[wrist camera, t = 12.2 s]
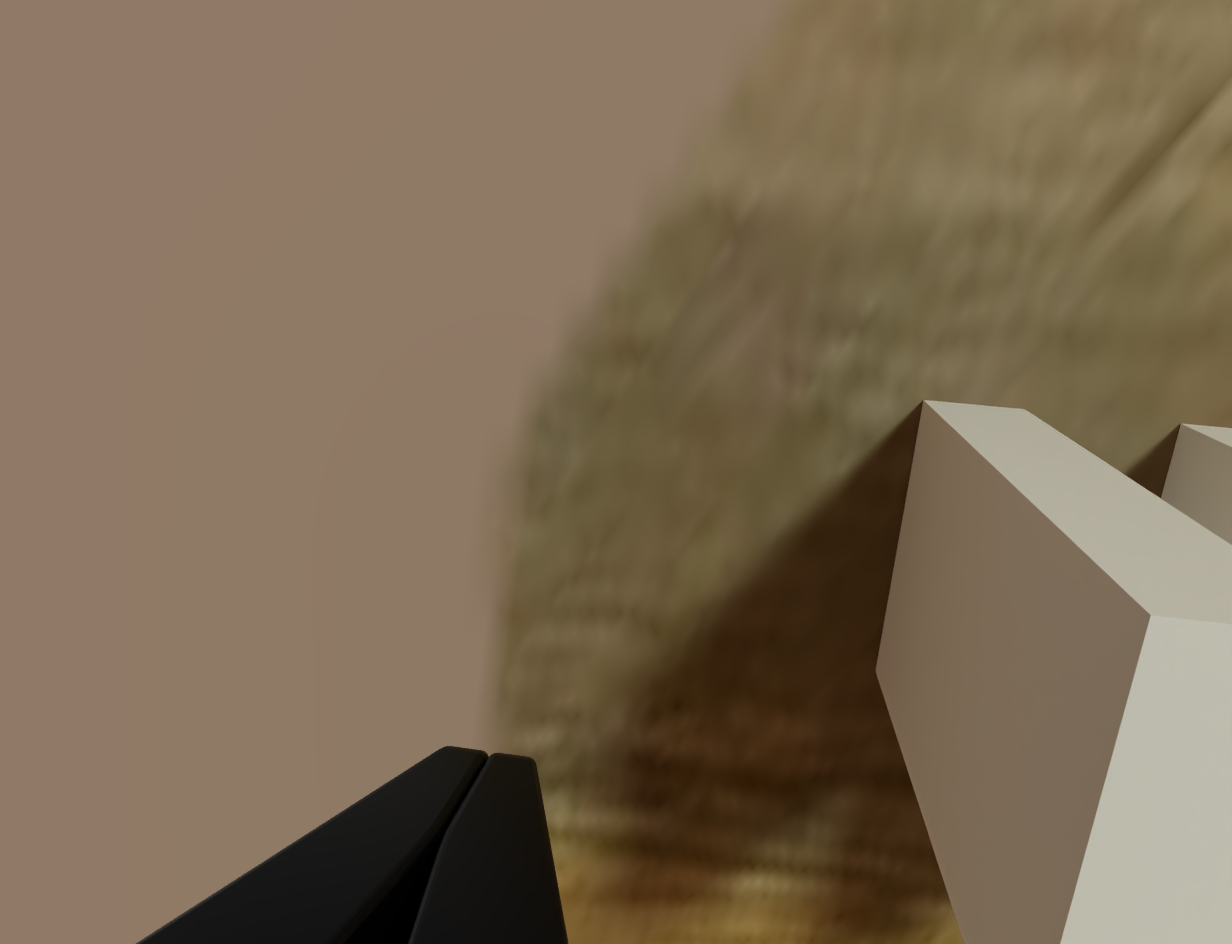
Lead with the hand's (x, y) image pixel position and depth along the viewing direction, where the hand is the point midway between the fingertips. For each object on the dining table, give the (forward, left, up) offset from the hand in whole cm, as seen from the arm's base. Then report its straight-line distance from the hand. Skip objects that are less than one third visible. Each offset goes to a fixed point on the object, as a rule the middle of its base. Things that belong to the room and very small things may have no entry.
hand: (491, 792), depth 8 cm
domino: (-3, -5, -8) cm, 10 cm away
